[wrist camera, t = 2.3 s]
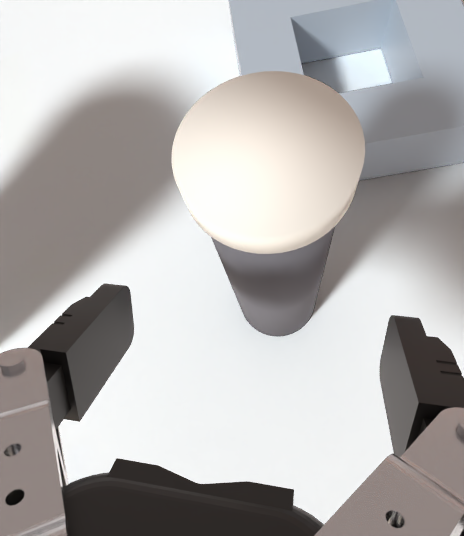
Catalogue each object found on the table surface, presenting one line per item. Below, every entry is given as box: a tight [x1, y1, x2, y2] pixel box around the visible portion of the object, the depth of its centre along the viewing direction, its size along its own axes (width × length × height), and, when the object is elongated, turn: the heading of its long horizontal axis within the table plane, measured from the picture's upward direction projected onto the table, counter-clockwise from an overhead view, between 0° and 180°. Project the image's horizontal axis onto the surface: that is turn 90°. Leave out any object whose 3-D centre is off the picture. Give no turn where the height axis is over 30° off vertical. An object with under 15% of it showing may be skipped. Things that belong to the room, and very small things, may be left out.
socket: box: [229, 0, 464, 180], centre depth 28 cm, size 14×14×4 cm
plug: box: [172, 71, 365, 336], centre depth 18 cm, size 5×5×15 cm
